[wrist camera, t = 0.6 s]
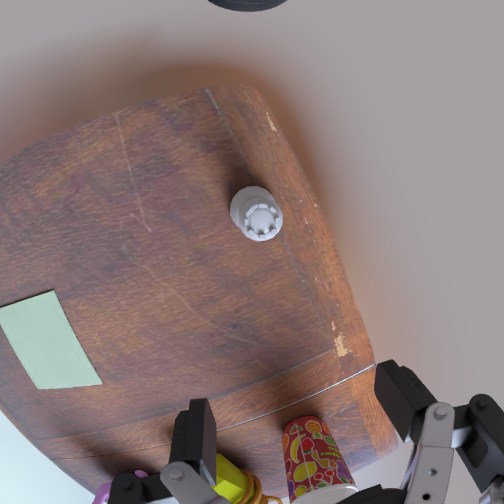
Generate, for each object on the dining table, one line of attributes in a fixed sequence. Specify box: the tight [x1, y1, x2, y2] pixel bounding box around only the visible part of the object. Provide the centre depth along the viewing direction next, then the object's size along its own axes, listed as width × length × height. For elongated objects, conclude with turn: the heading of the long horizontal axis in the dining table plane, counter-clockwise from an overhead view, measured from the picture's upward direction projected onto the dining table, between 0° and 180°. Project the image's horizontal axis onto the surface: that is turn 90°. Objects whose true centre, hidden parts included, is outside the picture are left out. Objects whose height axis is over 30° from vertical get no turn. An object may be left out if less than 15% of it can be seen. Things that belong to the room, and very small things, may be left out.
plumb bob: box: [169, 449, 283, 504], centre depth 35 cm, size 9×9×25 cm
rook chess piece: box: [230, 186, 283, 241], centre depth 25 cm, size 4×4×8 cm
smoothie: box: [282, 416, 359, 504], centre depth 27 cm, size 8×8×20 cm
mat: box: [0, 290, 103, 389], centre depth 31 cm, size 14×14×1 cm
